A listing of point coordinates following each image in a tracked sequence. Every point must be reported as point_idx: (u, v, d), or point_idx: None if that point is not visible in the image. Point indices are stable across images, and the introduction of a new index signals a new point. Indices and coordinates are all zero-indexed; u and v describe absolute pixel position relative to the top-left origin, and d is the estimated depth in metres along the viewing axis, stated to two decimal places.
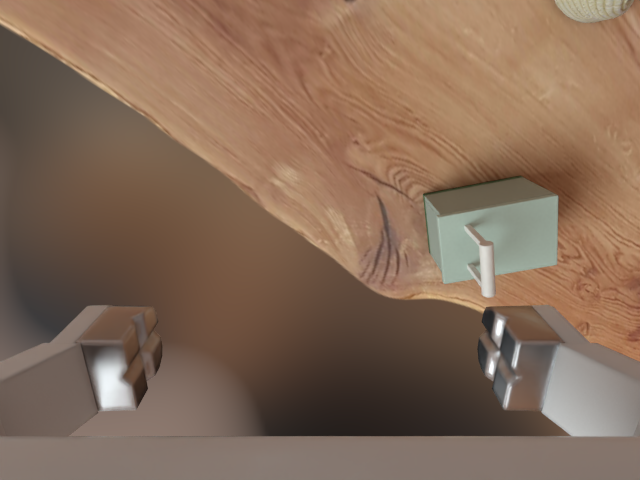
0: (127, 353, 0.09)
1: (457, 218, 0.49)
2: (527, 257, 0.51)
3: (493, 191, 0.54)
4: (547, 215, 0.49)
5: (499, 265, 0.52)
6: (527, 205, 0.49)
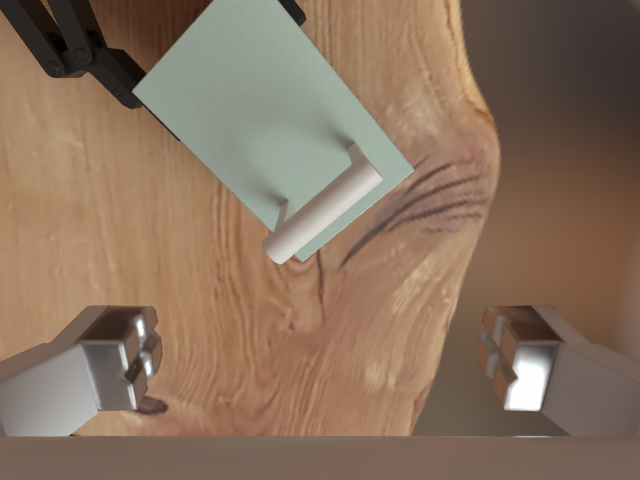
0: (127, 353, 0.09)
1: None
2: (272, 47, 0.22)
3: None
4: (175, 80, 0.23)
5: (320, 94, 0.23)
6: (186, 133, 0.24)
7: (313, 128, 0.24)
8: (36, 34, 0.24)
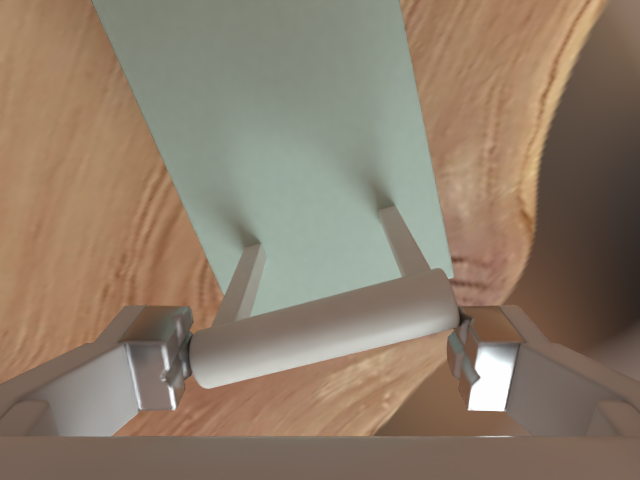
0: (169, 353, 0.09)
1: None
2: (342, 6, 0.13)
3: None
4: None
5: (380, 114, 0.14)
6: (140, 74, 0.14)
7: (345, 159, 0.15)
8: None
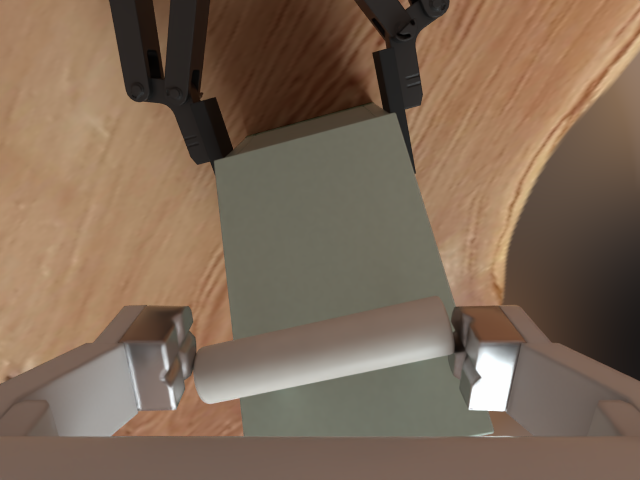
0: (168, 353, 0.09)
1: (255, 410, 0.16)
2: (377, 187, 0.18)
3: None
4: (260, 170, 0.20)
5: (405, 258, 0.17)
6: (231, 222, 0.19)
7: (375, 292, 0.17)
8: (137, 50, 0.20)
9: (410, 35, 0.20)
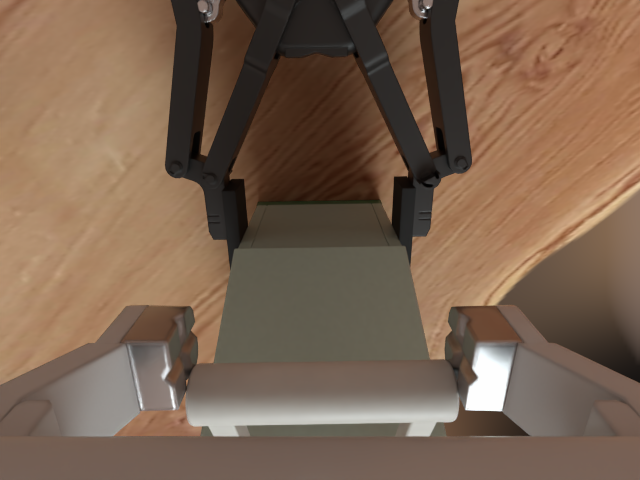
0: (171, 353, 0.09)
1: None
2: (380, 301, 0.20)
3: None
4: (275, 265, 0.21)
5: None
6: (235, 303, 0.20)
7: None
8: (185, 135, 0.22)
9: (432, 185, 0.22)
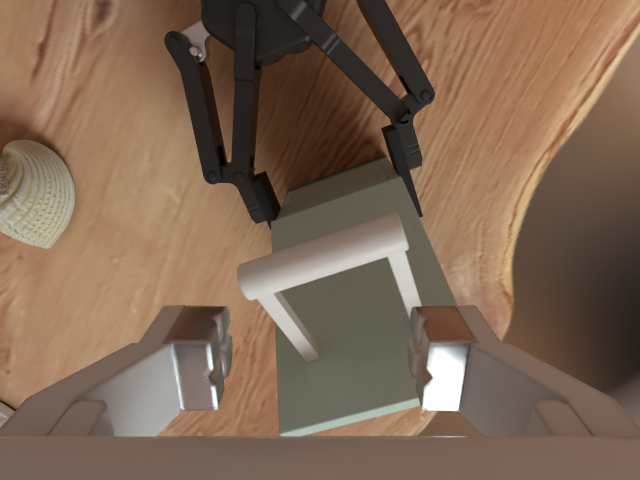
0: (213, 353, 0.09)
1: (288, 381, 0.19)
2: None
3: None
4: (303, 222, 0.27)
5: (410, 262, 0.22)
6: None
7: (386, 288, 0.21)
8: (211, 149, 0.28)
9: (408, 121, 0.27)
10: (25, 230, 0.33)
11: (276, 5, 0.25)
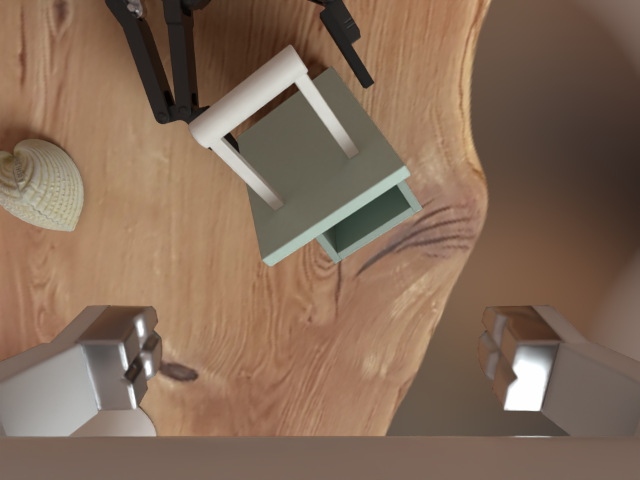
0: (127, 353, 0.09)
1: (263, 228, 0.24)
2: (324, 99, 0.29)
3: None
4: (261, 127, 0.31)
5: (343, 118, 0.26)
6: (246, 156, 0.30)
7: (327, 142, 0.26)
8: (157, 93, 0.33)
9: None
10: (47, 210, 0.39)
11: None
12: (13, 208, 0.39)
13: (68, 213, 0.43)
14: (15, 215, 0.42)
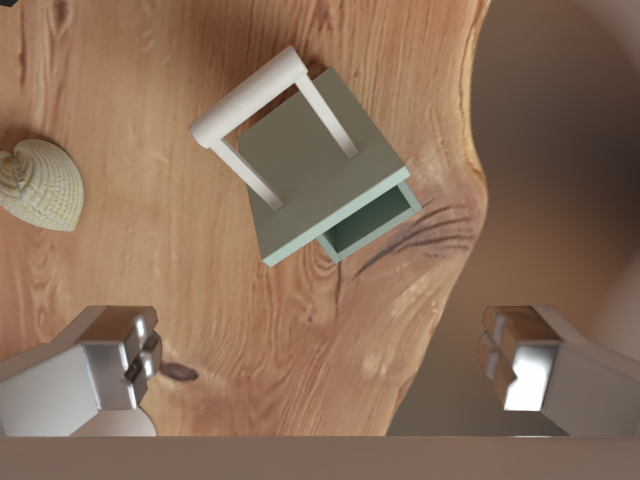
0: (127, 353, 0.09)
1: (263, 228, 0.24)
2: (324, 100, 0.29)
3: None
4: (261, 127, 0.31)
5: (343, 119, 0.26)
6: (246, 156, 0.30)
7: (327, 142, 0.26)
8: None
9: None
10: (47, 210, 0.39)
11: None
12: (13, 208, 0.39)
13: (68, 213, 0.43)
14: (15, 215, 0.42)
